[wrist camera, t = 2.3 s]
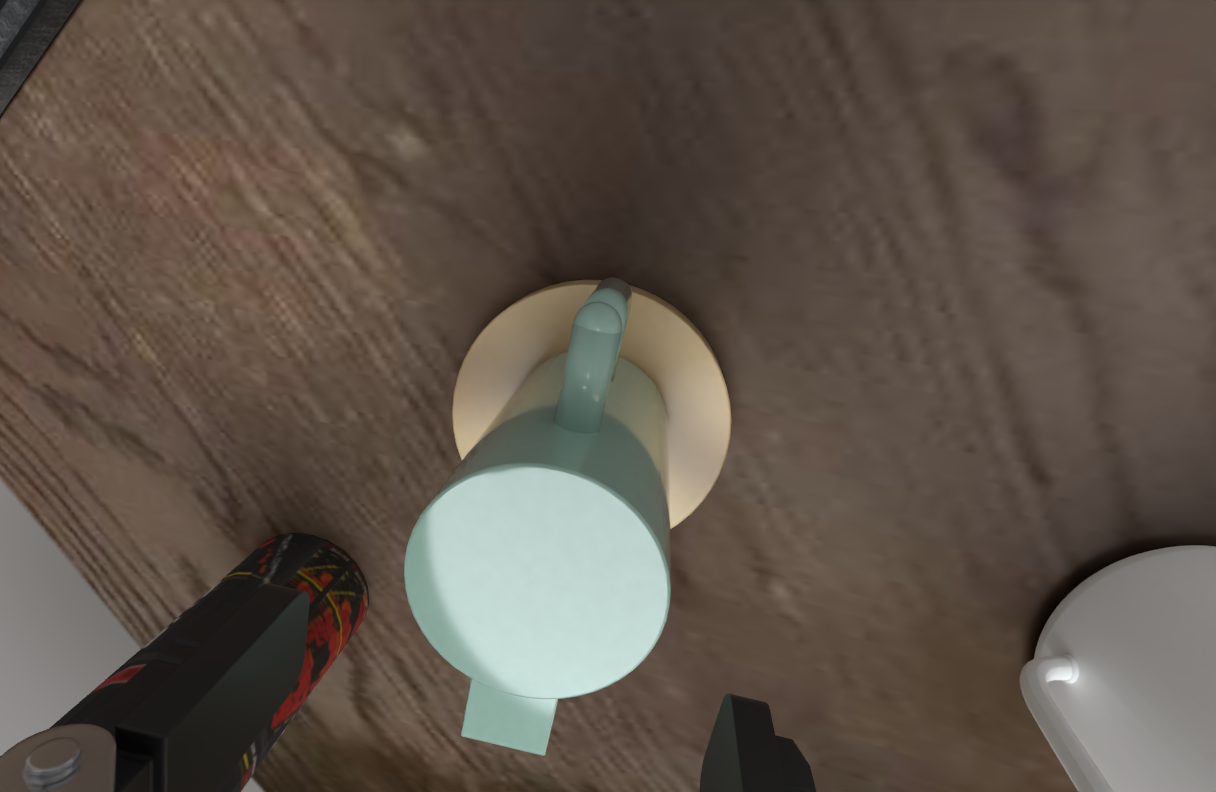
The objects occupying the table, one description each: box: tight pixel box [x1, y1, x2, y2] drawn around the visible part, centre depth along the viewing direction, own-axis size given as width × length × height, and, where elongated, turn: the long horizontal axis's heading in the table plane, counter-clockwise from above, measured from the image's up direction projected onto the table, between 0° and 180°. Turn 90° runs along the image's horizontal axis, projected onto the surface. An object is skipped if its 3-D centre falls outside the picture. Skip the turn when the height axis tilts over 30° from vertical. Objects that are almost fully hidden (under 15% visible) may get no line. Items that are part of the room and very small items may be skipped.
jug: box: [404, 278, 671, 756], centre depth 20 cm, size 11×6×11 cm, turn 168°
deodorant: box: [49, 533, 368, 792], centre depth 24 cm, size 6×6×15 cm
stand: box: [452, 280, 732, 529], centre depth 26 cm, size 11×11×2 cm
